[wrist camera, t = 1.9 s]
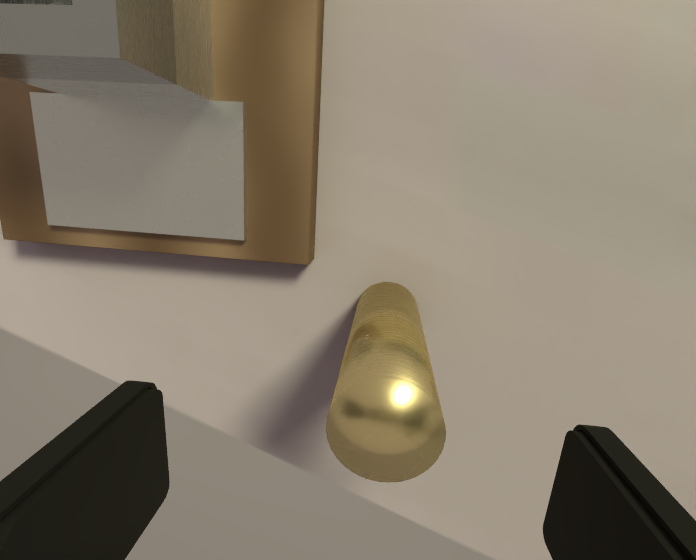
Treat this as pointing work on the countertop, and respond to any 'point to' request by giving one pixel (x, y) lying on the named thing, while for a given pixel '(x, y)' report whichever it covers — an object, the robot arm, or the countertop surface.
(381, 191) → the countertop surface
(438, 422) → the hinge pin
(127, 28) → the grey stepped block
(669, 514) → the robot arm
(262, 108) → the walnut board
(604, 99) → the countertop surface
